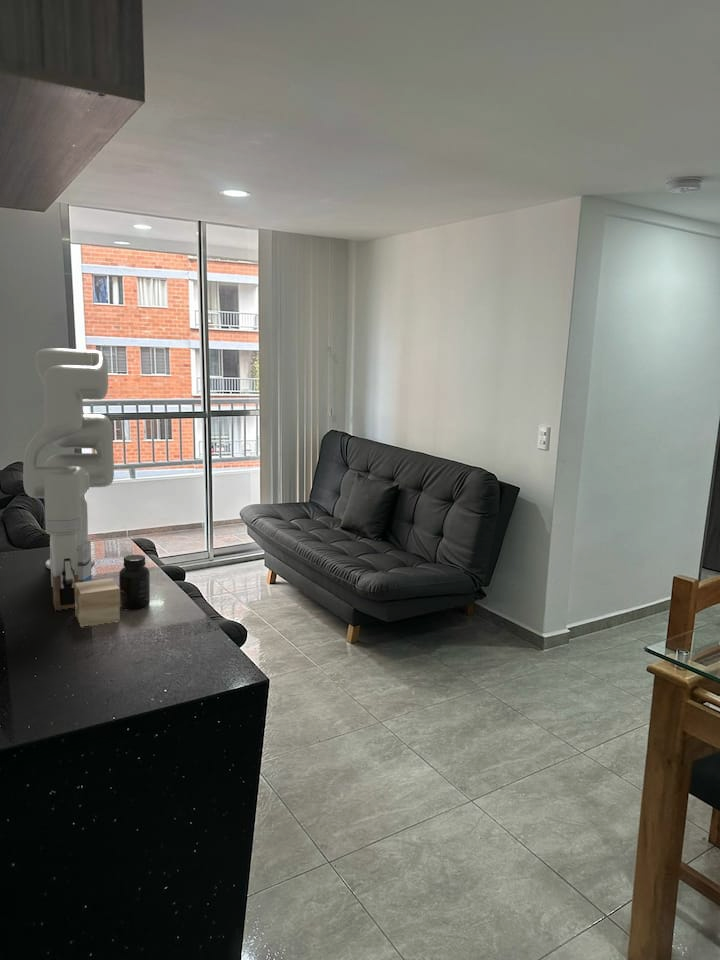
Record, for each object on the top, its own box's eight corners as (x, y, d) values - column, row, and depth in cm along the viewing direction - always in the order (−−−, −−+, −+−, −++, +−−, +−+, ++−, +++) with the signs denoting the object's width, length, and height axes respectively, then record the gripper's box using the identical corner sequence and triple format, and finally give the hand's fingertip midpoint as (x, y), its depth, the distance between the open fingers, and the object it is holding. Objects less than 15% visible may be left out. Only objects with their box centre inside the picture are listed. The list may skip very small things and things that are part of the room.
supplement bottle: (113, 608, 153) (112, 559, 151) (130, 599, 159) (130, 551, 157) (139, 612, 151) (138, 562, 149) (155, 603, 158) (155, 555, 156)
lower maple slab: (75, 616, 148) (75, 599, 147) (112, 611, 152) (112, 594, 151) (81, 628, 141) (80, 611, 141) (119, 622, 145) (119, 605, 145)
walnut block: (53, 603, 154) (52, 571, 153) (76, 600, 157) (75, 568, 155) (55, 610, 150) (54, 577, 149) (79, 607, 153) (78, 574, 151)
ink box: (92, 584, 169) (91, 540, 167) (82, 590, 164) (81, 545, 162) (61, 582, 170) (59, 538, 168) (50, 588, 165) (49, 542, 163)
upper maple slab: (74, 599, 147) (74, 582, 146) (111, 594, 151) (111, 578, 151) (81, 611, 140) (81, 593, 140) (120, 605, 145) (119, 588, 144)
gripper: (42, 518, 156) (44, 591, 159) (49, 535, 141) (52, 615, 144) (76, 516, 159) (78, 587, 162) (86, 532, 145) (88, 610, 148)
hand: (65, 599), depth 153 cm, fingers open, 5 cm apart
